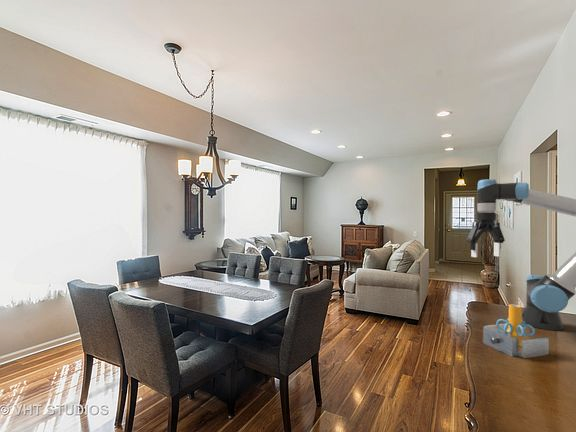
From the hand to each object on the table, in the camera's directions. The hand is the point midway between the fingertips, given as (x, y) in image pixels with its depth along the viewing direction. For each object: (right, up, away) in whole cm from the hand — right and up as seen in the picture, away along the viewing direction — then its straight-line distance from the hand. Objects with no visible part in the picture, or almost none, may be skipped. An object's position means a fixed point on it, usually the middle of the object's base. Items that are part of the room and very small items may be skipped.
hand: (485, 256), depth 145 cm
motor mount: (-8, -32, -27) cm, 42 cm away
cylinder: (-6, -31, -26) cm, 41 cm away
